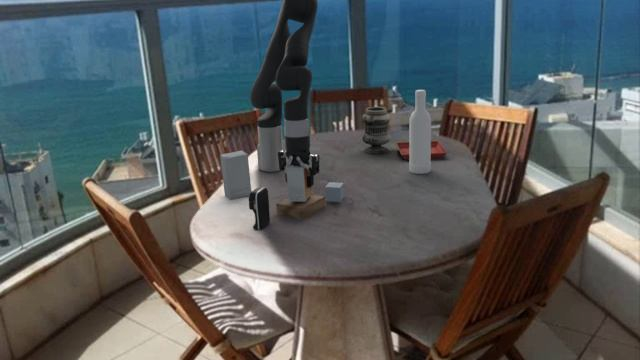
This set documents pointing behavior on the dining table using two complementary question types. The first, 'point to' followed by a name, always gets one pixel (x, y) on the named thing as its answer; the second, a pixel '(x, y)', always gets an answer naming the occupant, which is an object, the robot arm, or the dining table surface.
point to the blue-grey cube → (334, 192)
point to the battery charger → (260, 207)
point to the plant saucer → (436, 149)
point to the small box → (297, 184)
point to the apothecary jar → (376, 129)
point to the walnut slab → (301, 207)
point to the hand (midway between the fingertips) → (299, 185)
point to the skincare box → (236, 174)
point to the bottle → (420, 136)
